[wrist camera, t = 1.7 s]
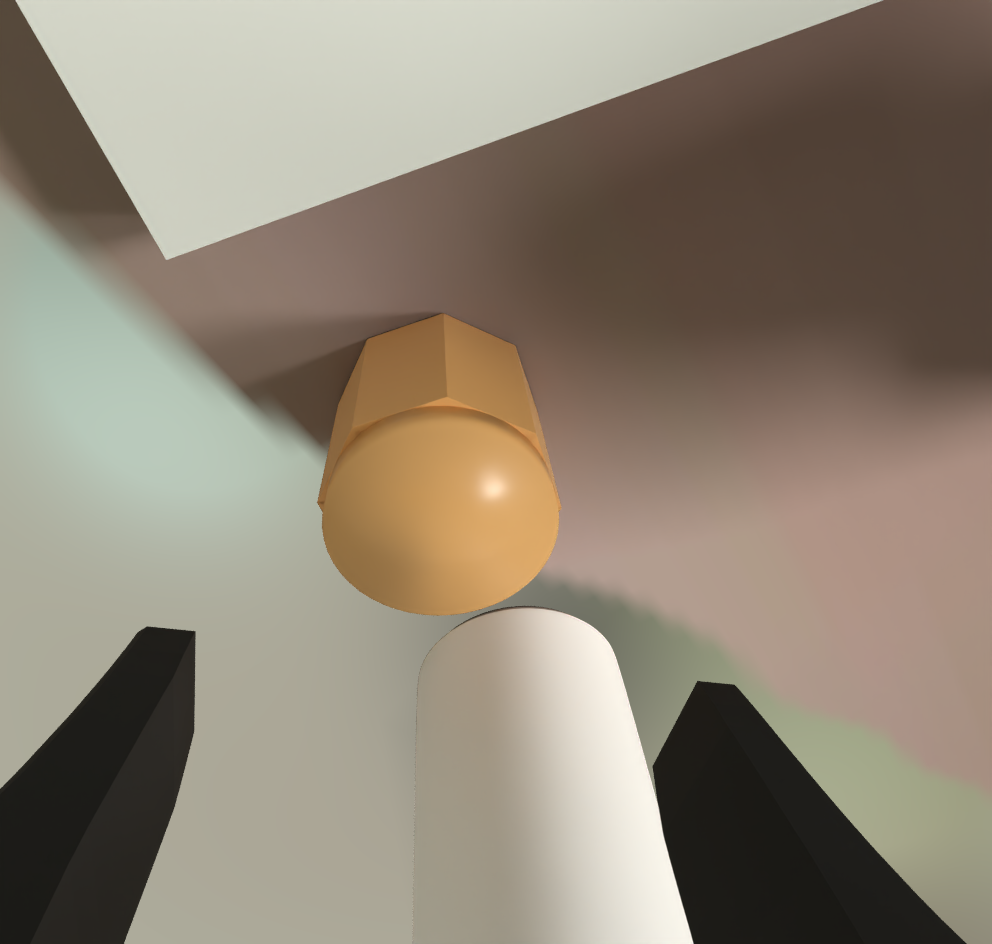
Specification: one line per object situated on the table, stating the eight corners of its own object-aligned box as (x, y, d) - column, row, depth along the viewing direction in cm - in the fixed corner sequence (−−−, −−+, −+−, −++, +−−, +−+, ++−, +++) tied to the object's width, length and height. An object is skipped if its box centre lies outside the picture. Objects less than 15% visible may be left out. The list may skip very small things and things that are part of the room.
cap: (551, 453, 20) (583, 579, 16) (389, 503, 20) (378, 639, 16) (498, 294, 17) (520, 394, 13) (314, 356, 18) (279, 471, 14)
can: (487, 759, 27) (522, 1225, 17) (375, 658, 24) (337, 1160, 14) (649, 684, 25) (794, 1148, 15) (552, 564, 22) (656, 1054, 12)
